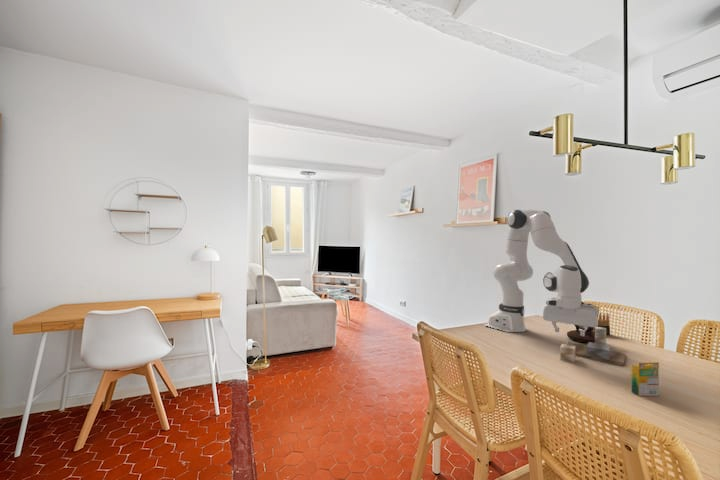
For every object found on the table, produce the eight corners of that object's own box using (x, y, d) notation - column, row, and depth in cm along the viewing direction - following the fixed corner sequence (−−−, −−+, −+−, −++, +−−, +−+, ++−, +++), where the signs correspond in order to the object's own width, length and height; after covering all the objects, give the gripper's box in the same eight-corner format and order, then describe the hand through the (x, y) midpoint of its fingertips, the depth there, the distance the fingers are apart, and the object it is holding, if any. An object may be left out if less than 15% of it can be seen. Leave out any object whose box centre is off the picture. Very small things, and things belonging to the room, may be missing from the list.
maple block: (560, 359, 139) (560, 346, 139) (562, 356, 143) (562, 343, 142) (573, 363, 136) (574, 349, 135) (575, 359, 139) (575, 346, 139)
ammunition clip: (588, 333, 176) (588, 312, 176) (586, 332, 178) (587, 311, 178) (610, 335, 174) (610, 313, 173) (608, 334, 175) (608, 313, 175)
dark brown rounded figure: (608, 345, 158) (609, 305, 158) (578, 344, 158) (579, 305, 158) (587, 335, 173) (588, 299, 172) (560, 335, 173) (561, 299, 173)
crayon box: (650, 391, 111) (651, 359, 110) (659, 396, 108) (659, 362, 107) (630, 392, 110) (631, 359, 110) (638, 396, 107) (639, 362, 107)
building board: (563, 352, 147) (563, 329, 147) (568, 344, 159) (568, 322, 159) (624, 365, 133) (624, 339, 132) (625, 355, 145) (625, 331, 144)
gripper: (599, 304, 134) (599, 336, 134) (544, 298, 147) (544, 328, 147) (598, 306, 129) (598, 340, 129) (541, 300, 143) (542, 331, 143)
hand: (569, 333), depth 138 cm, fingers open, 8 cm apart
